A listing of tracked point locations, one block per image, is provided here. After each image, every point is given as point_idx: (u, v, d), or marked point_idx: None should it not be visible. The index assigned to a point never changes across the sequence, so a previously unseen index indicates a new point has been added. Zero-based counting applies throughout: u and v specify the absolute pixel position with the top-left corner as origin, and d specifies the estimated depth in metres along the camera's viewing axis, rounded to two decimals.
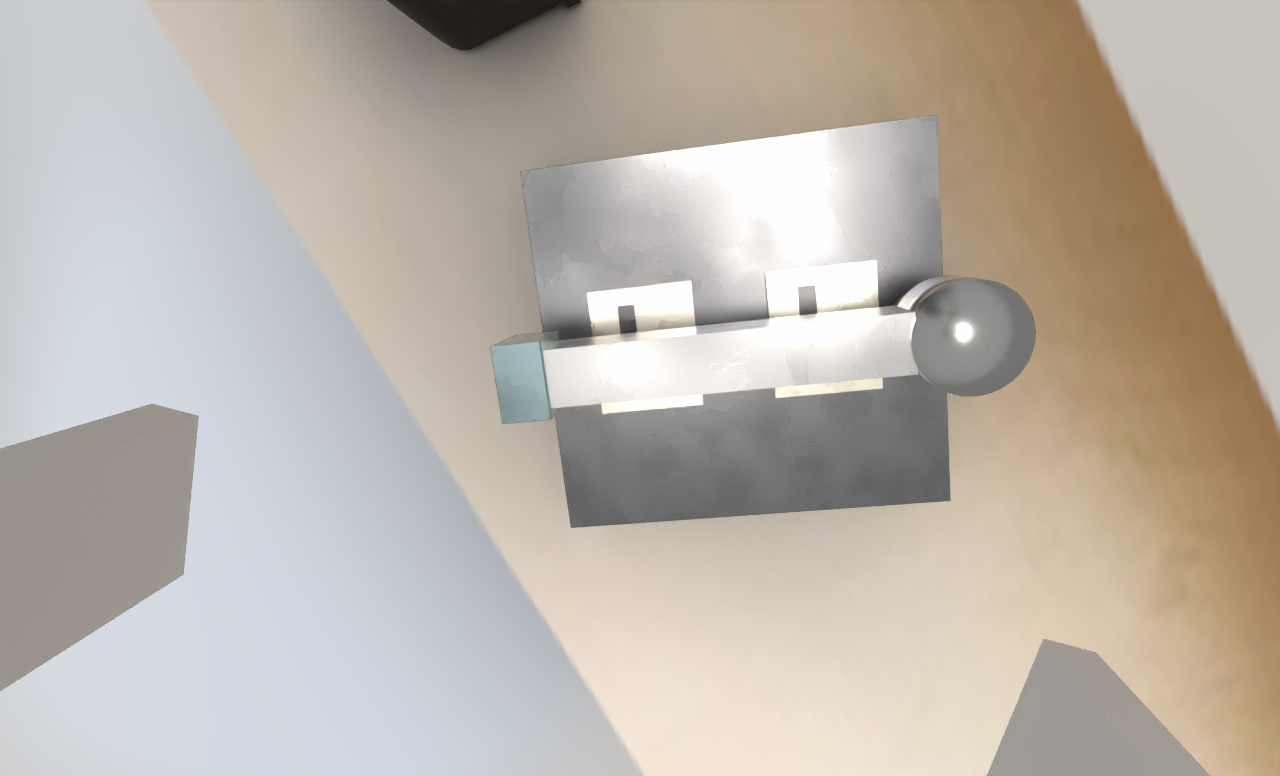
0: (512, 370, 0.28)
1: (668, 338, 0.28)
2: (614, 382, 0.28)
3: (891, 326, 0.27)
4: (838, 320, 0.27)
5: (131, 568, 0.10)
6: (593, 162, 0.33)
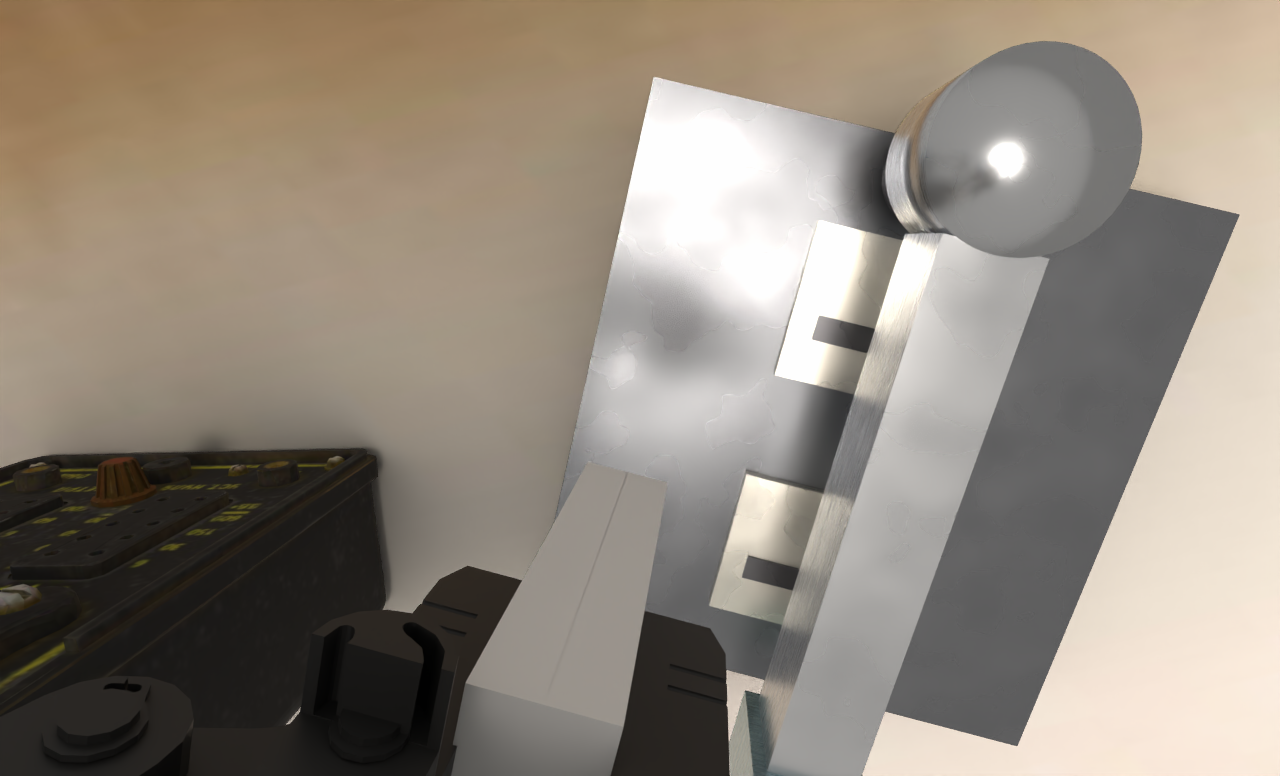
0: None
1: (823, 603, 0.18)
2: (855, 699, 0.18)
3: (949, 277, 0.16)
4: (903, 354, 0.16)
5: None
6: None
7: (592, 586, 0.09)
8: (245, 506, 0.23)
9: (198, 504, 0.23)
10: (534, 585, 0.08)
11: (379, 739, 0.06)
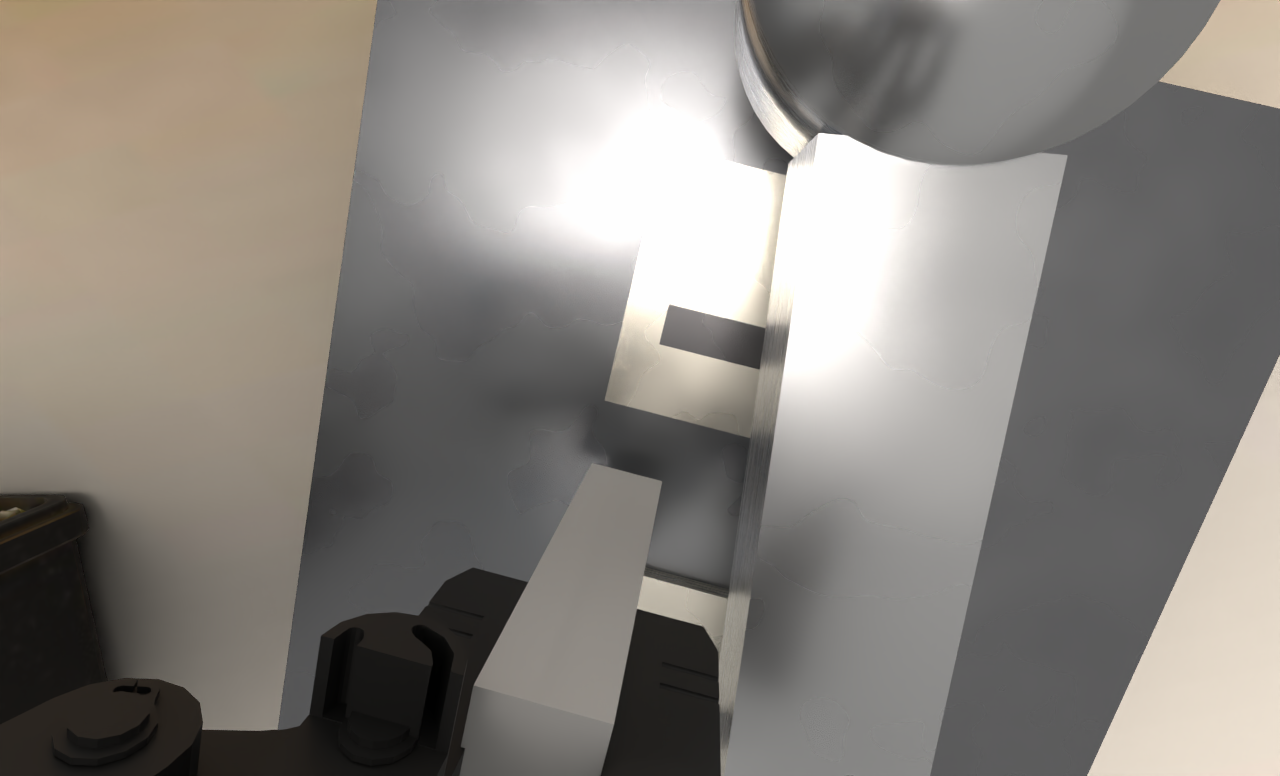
0: None
1: None
2: None
3: (849, 229, 0.07)
4: (780, 404, 0.08)
5: None
6: (293, 632, 0.17)
7: (584, 584, 0.09)
8: None
9: None
10: (540, 587, 0.08)
11: (387, 742, 0.06)
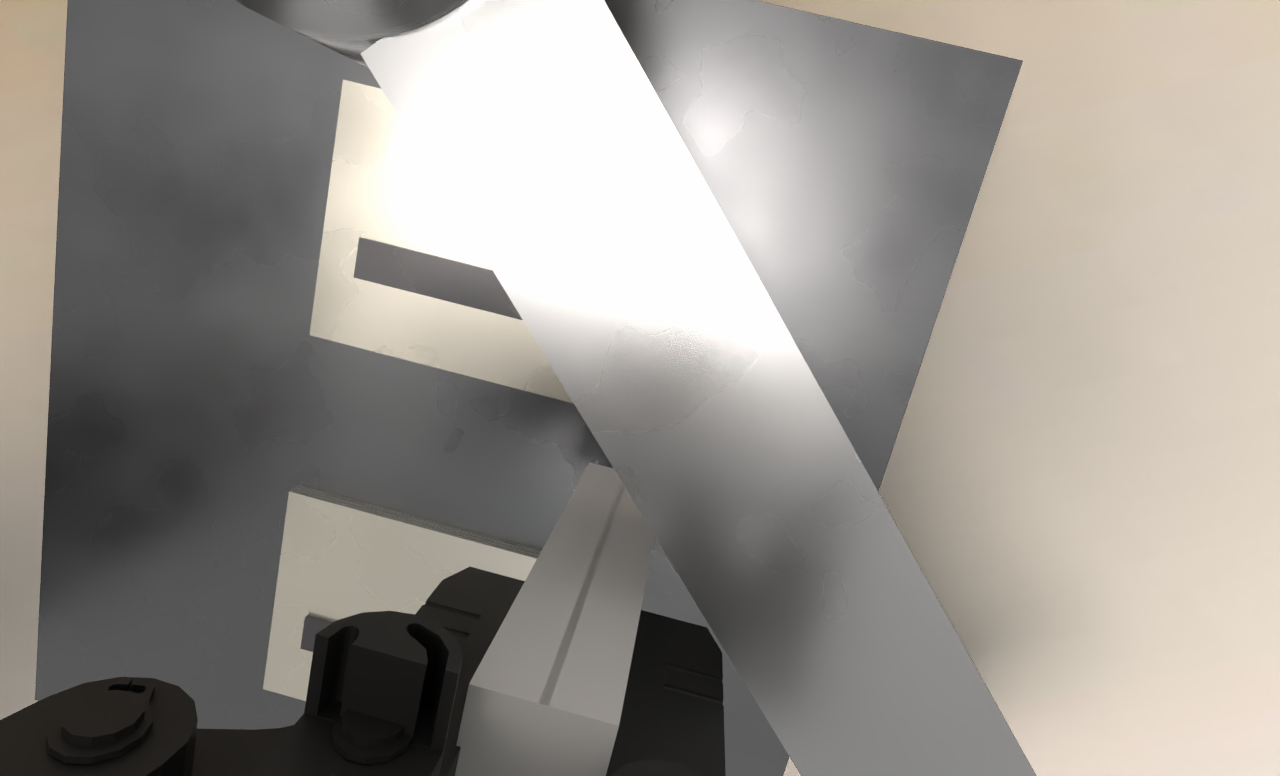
0: None
1: (800, 766, 0.08)
2: None
3: (442, 108, 0.07)
4: (510, 291, 0.08)
5: None
6: (42, 574, 0.17)
7: (589, 585, 0.09)
8: None
9: None
10: (537, 586, 0.08)
11: (383, 740, 0.06)
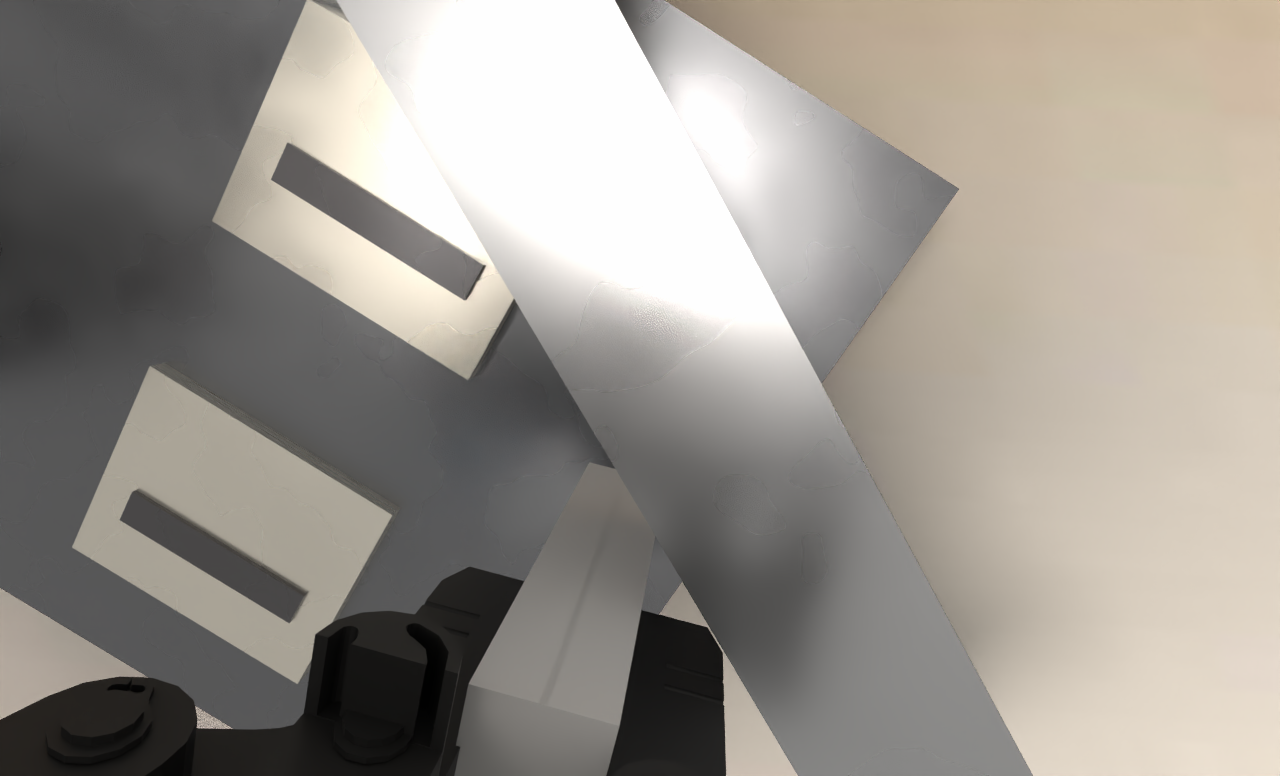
0: None
1: (778, 733, 0.08)
2: None
3: (418, 54, 0.07)
4: (487, 244, 0.08)
5: None
6: None
7: (588, 585, 0.09)
8: None
9: None
10: (537, 586, 0.08)
11: (382, 740, 0.06)
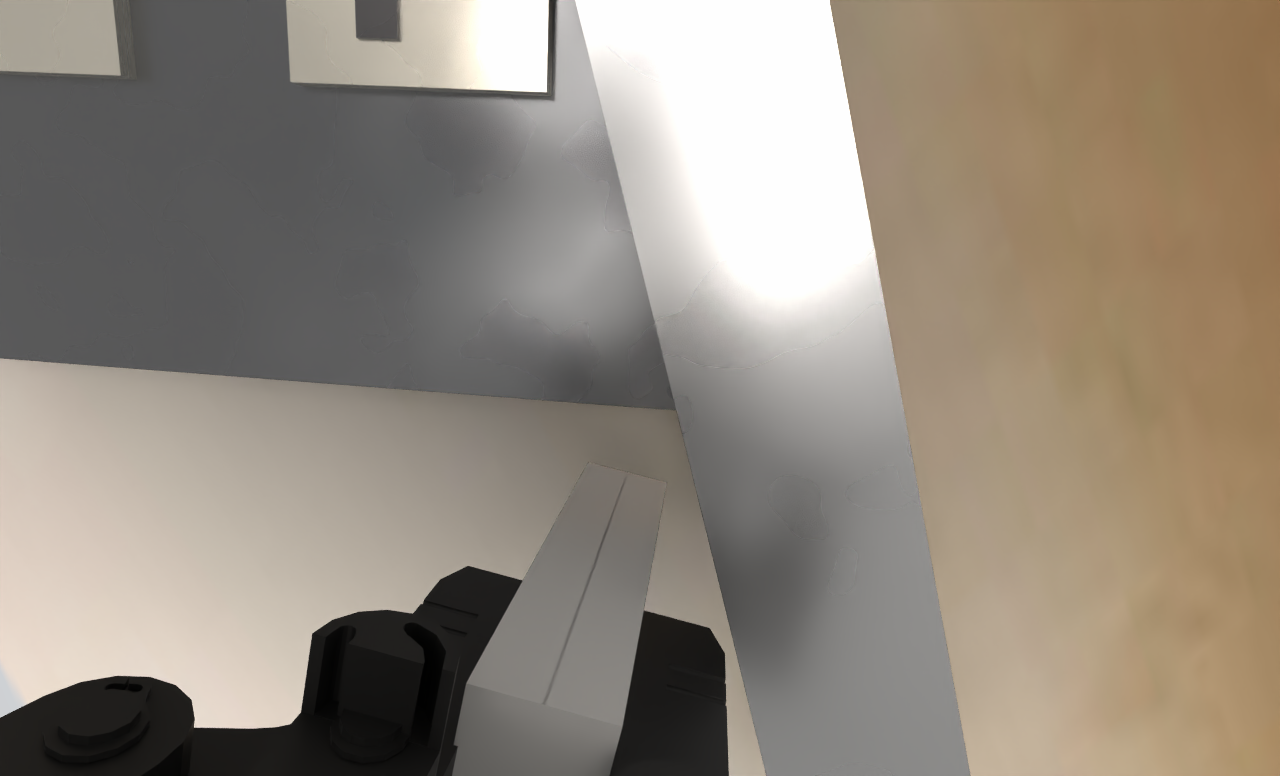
0: None
1: (757, 724, 0.09)
2: None
3: None
4: (625, 190, 0.07)
5: None
6: None
7: (591, 586, 0.09)
8: None
9: None
10: (535, 585, 0.08)
11: (380, 739, 0.06)
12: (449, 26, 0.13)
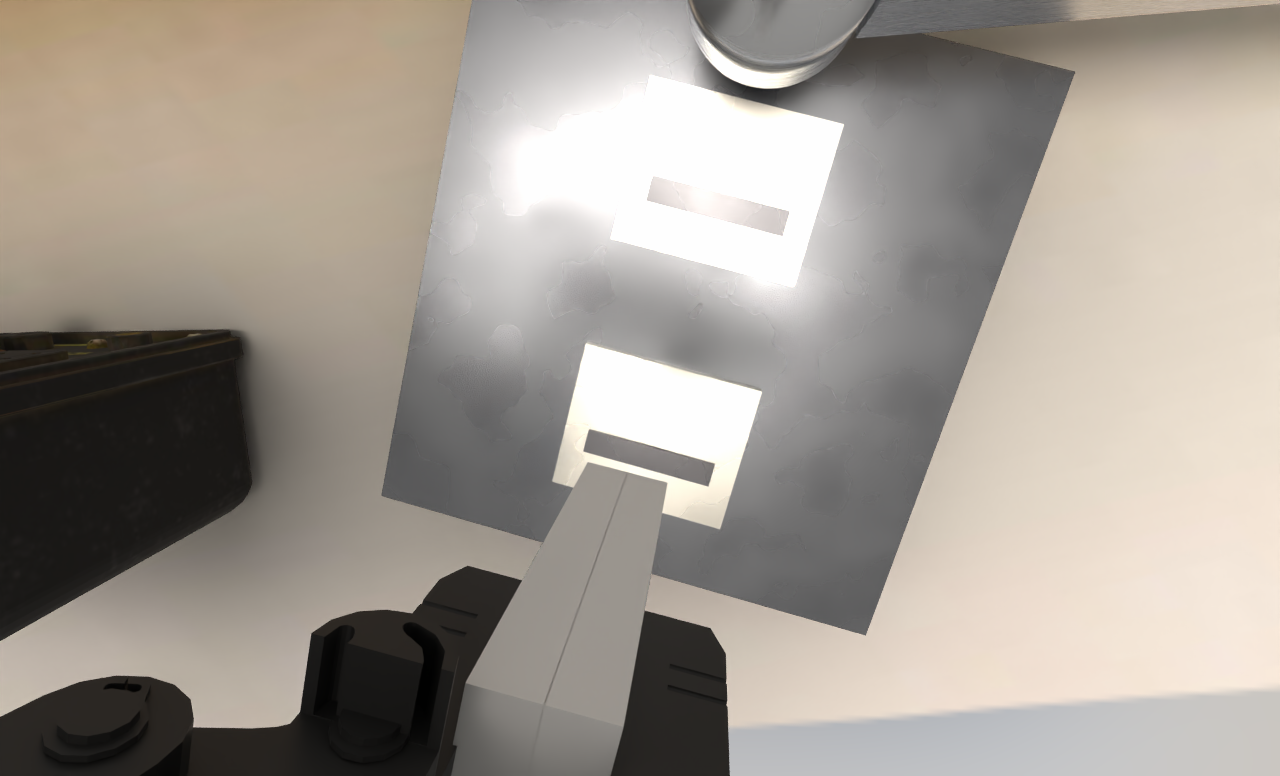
0: None
1: None
2: None
3: None
4: None
5: None
6: (399, 405, 0.25)
7: (592, 586, 0.09)
8: None
9: (28, 355, 0.23)
10: (534, 585, 0.08)
11: (378, 739, 0.06)
12: (790, 177, 0.22)
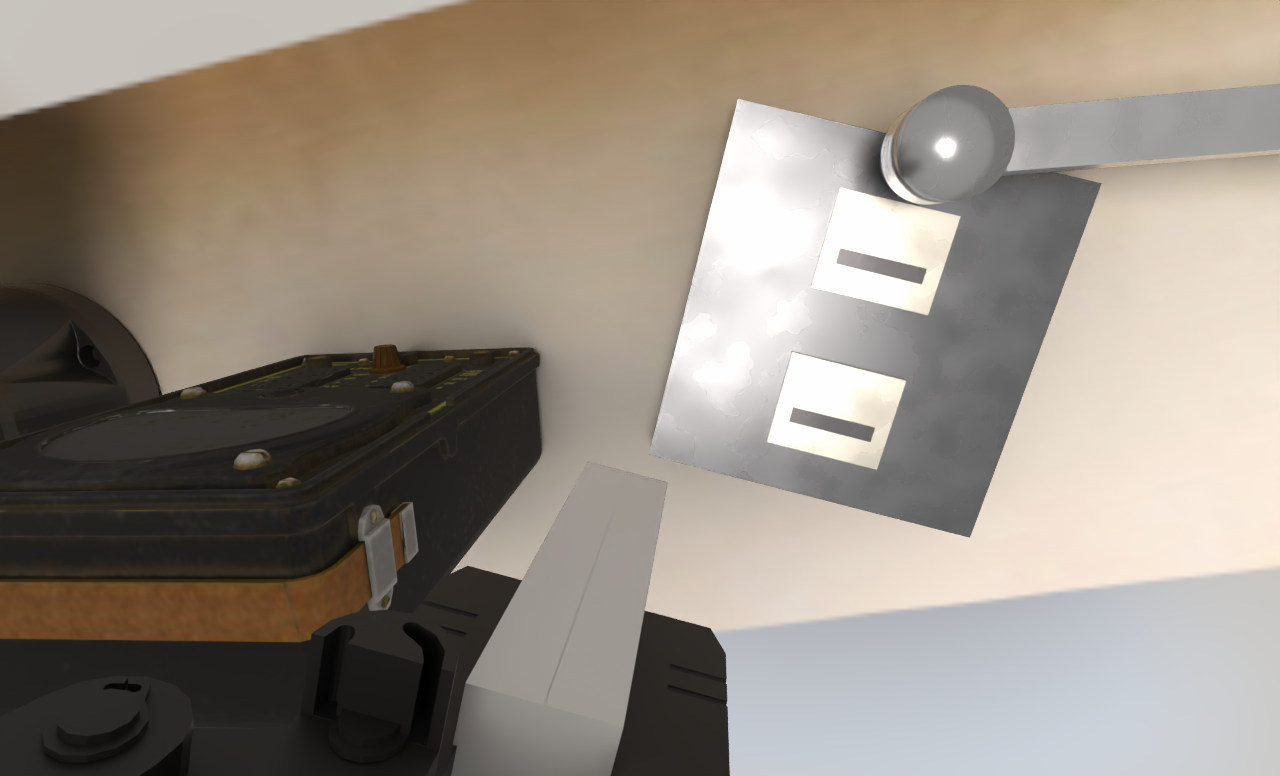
0: None
1: (1260, 150, 0.27)
2: None
3: (1030, 157, 0.28)
4: (1080, 164, 0.28)
5: None
6: (664, 394, 0.38)
7: (592, 586, 0.09)
8: (474, 371, 0.37)
9: (448, 367, 0.36)
10: (534, 585, 0.08)
11: (379, 739, 0.06)
12: (927, 248, 0.35)
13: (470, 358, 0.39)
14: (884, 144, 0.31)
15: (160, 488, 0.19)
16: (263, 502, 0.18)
